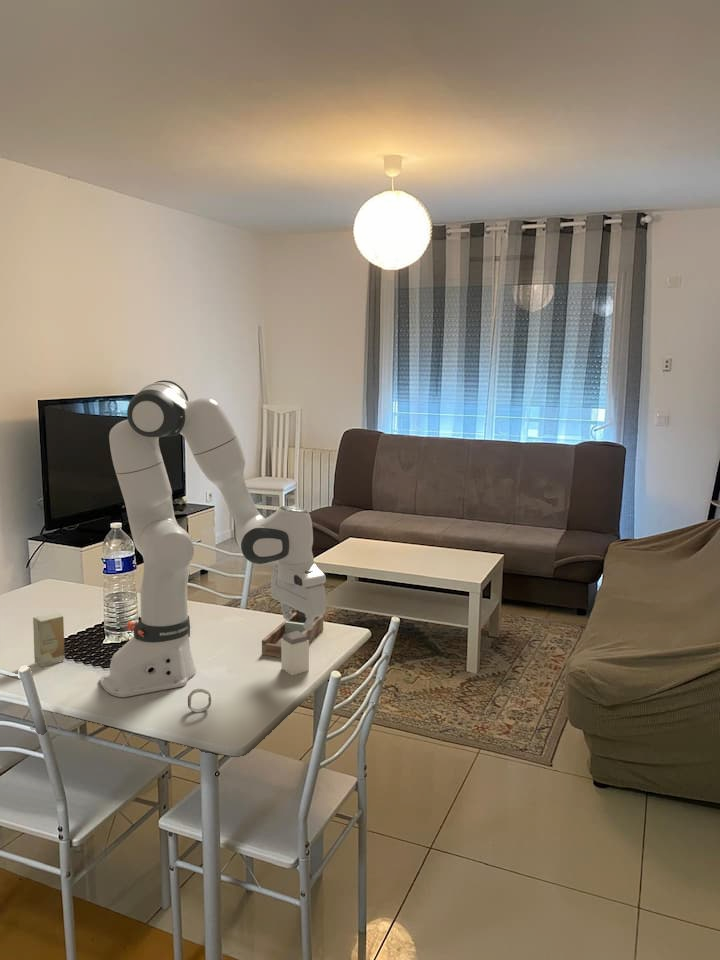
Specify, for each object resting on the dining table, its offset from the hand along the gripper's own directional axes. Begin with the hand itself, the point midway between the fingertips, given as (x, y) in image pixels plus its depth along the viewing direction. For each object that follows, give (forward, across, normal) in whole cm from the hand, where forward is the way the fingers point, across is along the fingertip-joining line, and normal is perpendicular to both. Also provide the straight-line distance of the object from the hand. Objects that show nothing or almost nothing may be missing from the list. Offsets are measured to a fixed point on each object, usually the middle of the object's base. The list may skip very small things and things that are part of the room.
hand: (297, 623), depth 180 cm
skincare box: (+10, -41, -49) cm, 65 cm away
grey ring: (+11, +6, -30) cm, 33 cm away
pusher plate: (+11, -17, +10) cm, 23 cm away
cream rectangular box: (+12, 0, -1) cm, 12 cm away
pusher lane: (+12, -16, +9) cm, 22 cm away
